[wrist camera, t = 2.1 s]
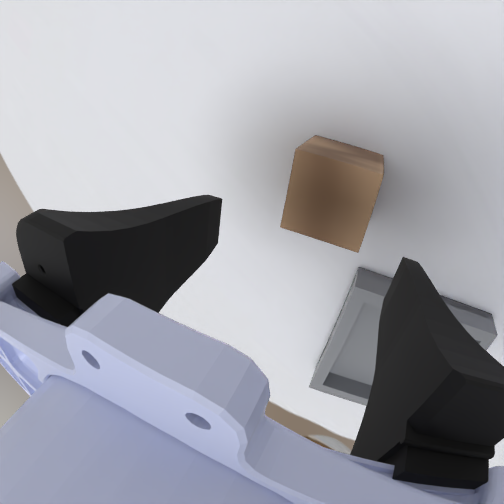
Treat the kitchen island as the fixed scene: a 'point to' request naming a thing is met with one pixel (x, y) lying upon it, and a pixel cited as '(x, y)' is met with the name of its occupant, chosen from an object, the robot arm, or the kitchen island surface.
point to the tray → (374, 338)
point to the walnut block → (332, 191)
